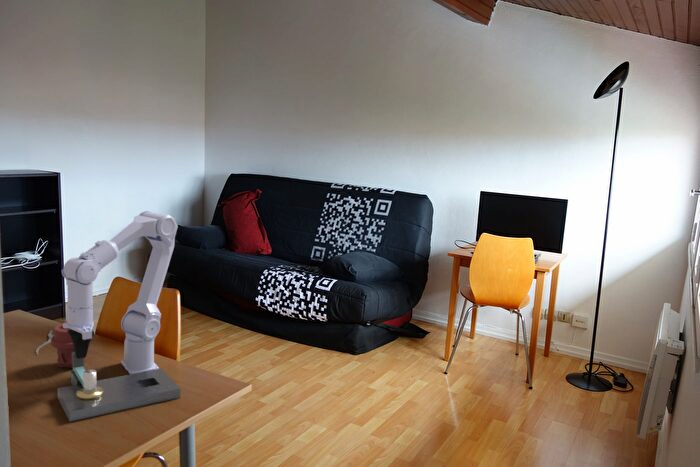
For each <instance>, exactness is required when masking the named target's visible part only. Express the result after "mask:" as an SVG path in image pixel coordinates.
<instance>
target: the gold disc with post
mask: <svg viewBox="0 0 700 467" xmlns="http://www.w3.org/2000/svg"><path fill="white" fill-rule="evenodd" d="M85 370H86V369H85ZM97 372H98V371H97V370H96V369H87V370H86V371H84V372H83V388H81V389H79V390H78V391H77V398H79V399H82V400H91V399H96V398H98V397H100V396H102V395H103V388H101V387H98V386H97V381H98V380H97V379H98V378H97V375H98V374H97Z"/></svg>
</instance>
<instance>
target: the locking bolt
mask: <svg viewBox="0 0 700 467" xmlns="http://www.w3.org/2000/svg"><path fill="white" fill-rule="evenodd" d="M84 362H85V360H84V358H80V359H77V357H76V355H75V352H72V366H73V368H72V371H74V372H75V374H76V376H77V377H78V379H79V381H80V382H81V384H82V386H83V372H84V371H86V369H85V367H84V364H85V363H84Z"/></svg>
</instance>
